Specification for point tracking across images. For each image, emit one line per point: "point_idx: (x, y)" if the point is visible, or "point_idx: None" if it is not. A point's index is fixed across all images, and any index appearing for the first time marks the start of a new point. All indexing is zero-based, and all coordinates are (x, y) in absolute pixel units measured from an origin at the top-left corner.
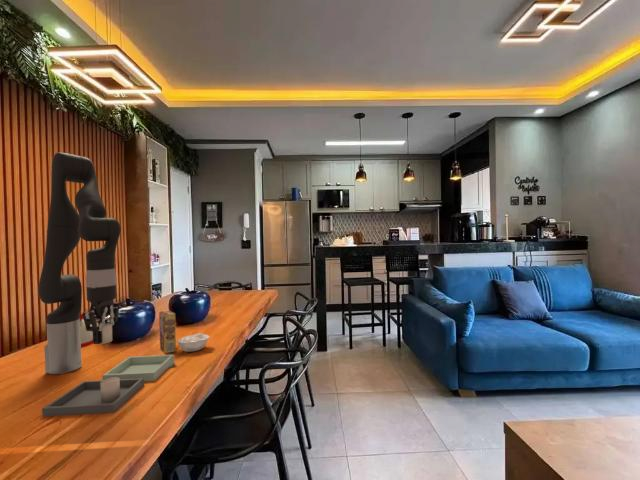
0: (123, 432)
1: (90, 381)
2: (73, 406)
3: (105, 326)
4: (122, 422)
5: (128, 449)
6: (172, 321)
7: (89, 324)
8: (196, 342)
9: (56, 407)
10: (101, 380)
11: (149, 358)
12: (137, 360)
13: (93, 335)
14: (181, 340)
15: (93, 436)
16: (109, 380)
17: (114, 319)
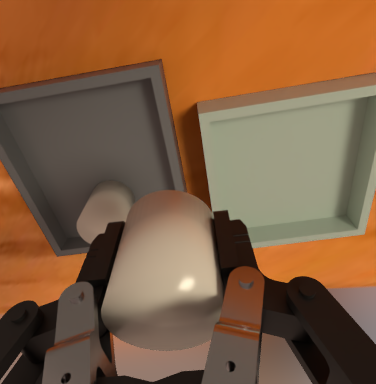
0: (33, 279)
1: (159, 96)
2: (14, 180)
3: (134, 345)
4: (55, 262)
5: (5, 304)
6: None
7: (8, 361)
8: None
9: None
10: (169, 132)
11: (367, 163)
12: (373, 118)
13: (82, 272)
14: None
15: (3, 246)
16: (102, 227)
17: (287, 338)
